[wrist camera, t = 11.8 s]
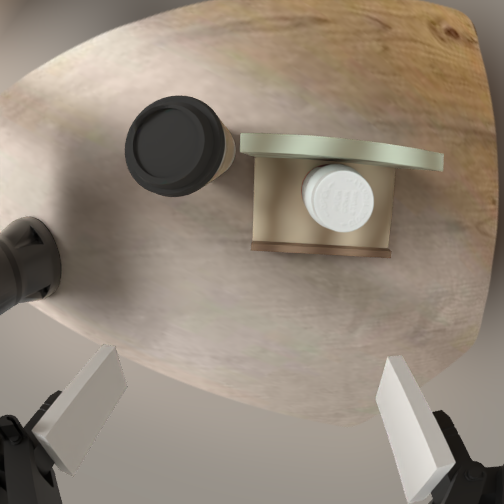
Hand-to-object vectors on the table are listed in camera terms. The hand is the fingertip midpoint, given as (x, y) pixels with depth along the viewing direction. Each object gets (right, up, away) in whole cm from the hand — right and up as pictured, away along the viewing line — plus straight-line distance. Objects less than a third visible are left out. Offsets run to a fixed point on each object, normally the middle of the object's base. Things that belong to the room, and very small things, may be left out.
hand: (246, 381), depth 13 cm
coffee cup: (-5, +19, +23) cm, 30 cm away
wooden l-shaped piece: (+9, +13, +23) cm, 28 cm away
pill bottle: (+9, +13, +21) cm, 26 cm away
